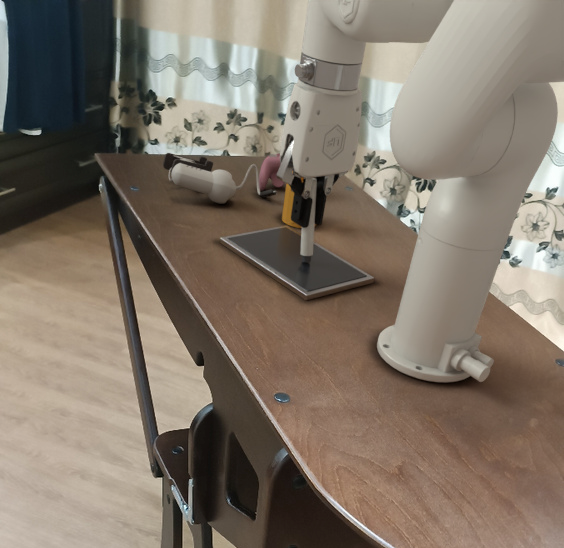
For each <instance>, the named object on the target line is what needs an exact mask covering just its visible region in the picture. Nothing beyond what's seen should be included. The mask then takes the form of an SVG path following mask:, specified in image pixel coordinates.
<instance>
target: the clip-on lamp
mask: <svg viewBox="0 0 564 548" xmlns="http://www.w3.org/2000/svg"><path fill="white" fill-rule="evenodd" d="M213 166H214V162H213V161H211V160H208V158H207V157H205V156H202V155H201V156H199V159H198V160H197V159H193V158H189V157H186V156H182V155H179V154H175V153H171V152H166V153H165V154H164V157H163V163H162V167H163V169H164V170H167V171H169V172H168V180H169V182H170V183H171V182H172V183H173V184H174V185H175V186H177V187H181V188H183V189H187V190H191V191H195V192H198V193H201V194H204V195H207V197H208V199H210V200H211V202H214V203H216V204H220V205H221V204H222V205H223V204H226V203H227V202H228V200H230V199H232V198H234V196H235V195H236V193H237V191H238V190H241V189H242V188H243V187H244V185H245V184H246V181H247V179H248V177H249V174H250V172H251V170H252V168H254V170H255V176H256V190H257V194H258V195H259V197H262V198H263V199H264V198H265V199H266V198H268V197H272V196H276V195H277V193H278V191H277V190H276V189H272V188H271V189H267V190H262V191H261V190H260V188H259V169H258V166H257V165H256V164H255V163H253V164H251V165H249V167H248V169H247V171H246V173H245V176H244V178H243V180H242V182H241V184H240V185H238V186H237V184H236V182H235V180H234V179H233V175H232V174H231V172H229V171H228V170H225V169H221V168H220V169H215V170H213ZM212 170H213V171H212Z"/></svg>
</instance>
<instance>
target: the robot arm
mask: <svg viewBox="0 0 564 548" xmlns="http://www.w3.org/2000/svg"><path fill="white" fill-rule="evenodd" d="M305 15H306V16H305V24H304V30H303V38H302V46H301V53H300V62H299V63H297V64H296V65H295V67H294V75H295V76H296V77H297V82H296V83H294V85H293V88H292V91H291V94H290V98H289V100H288V101H289V102H288V106H287V109H286V112H285V113H286V114H285V119H284V124H283V128H282V135H281V141H280V150H279V153H280V163H281V165H280V167H279V170H278V172H277V178H278V179H279V180H281V181H283V182H285V183H284V184H286V183H287V184H289V186H290V187H291V191H292V192H294V198H293V205H292V212H291V220H292V221H293V222H295V223H296V224H298V225H300V226H301V227H303V228H306V227H308V225H309V220H310V214H311V208H312V202H313V201H312V198H310V197H309V196H310V193H311V186H312V180H313V178H315V179H317V187H316V206H315V224H316V226H320V225H322V224H323V219H324V214H325V208H326V203H327V198H328V197H327V196H330V194H331V193H332V190H333V186H334V185H335V183H336V182H337V181H338V180H339V179H340V178H341V177H343V176H345V175H347V173H349V171H350V170H352V169H353V168H354V166H355V162H356V158H357V150H358V146H359V145H358V144H359V139H360V132H361V131H360V130H361V123H362V122H361V121H362V108H363V107H362V106H363V105H362V103H363V102H362V101H363V98H362V96H363V95H362V90H361V88H359V84H360V78H361V74H362V68H363V61H364V56H365V51H366V46H367V44H368V43H369V44H389V43H405V44H425V43H427V44H426V46H425V47H424V49H423V51H422V52H421V54H420V56H419V58H417V60H416V62H415V64H414V66H413V67H412V69H411V71H410V72H409V73H408V75H407V77H406V79H405V81H404V83H403V84H402V86H401V88H400V90H399V93H398V95H397V96H396V97H397V98H396V100H395V103H394V105H393V109H392V112H391V117H390V124H389V142H390V148H391V152H392V155H393V157H394V159H395V161H396V163H397V164H398V165H399V166H400V167H401V169H402V170H403V171H405V173H407V174H409V175H410V176H412V177H415V178H418V179H420V180H429V181H430V180H431V181H436V183H435V185H434V187H433V189H432V190H431V192H430V196H429V198H428V199H427V203H426V205H425V209H424V212H423V216H422V219H421V223H420V226H419V231H418V233H417V237H416V241H415V242H416V243H415V246H414V249H413V254H412V257H411V261H410V265H409V267H408V268H409V269H408V272H407V276H406V280H405V284H404V288H403V292H402V295H401V300H400V303H399V307H398V310H397V316H396V319H395V323H394V324H392V325H390V326H387V327H386V328H384V329H383V330H382V331H380V333H379V335H378V338H377V343H376V348H377V349H376V350H377V352H378V354H379V356H380V357H381V359H382V360H383V361H385V363H386V364H387V365H389V366H390V367H391V368H393V369H395V370H397V371H398V372H400V373H402V374H404V375H406V376H409V377H412V378H414V379H418V380H422V381H427V382H433V383H455V382H459V381H463V380H466V379H467V378H469V377H472V378H473V379H475V380H476V381H478V382H479V383H483V382H484V381H485V380H486V379H488V377H489V375H490V373H491V368H492V366H493V365H494V363H495V360H494V358H492V357H491V356H489V355H487V354H484V353H483V352H481V351H480V348H479V347H480V344H481V341H482V338H483V336H482V335H480V334H479V333H477V332H476V331H477V328H478V326H479V322H480V319H481V316H482V313H483V311H484V308H485V305H486V302H487V300H488V296H489V293H490V290H491V288H492V284H493V282H494V279H495V276H496V274H497V270H498V268H499V264H500V262H501V258H502V255H503V253H504V250H505V247H506V245H507V243H508V240H509V237H510V234H511V231H512V229H513V225H514V223H515V220H516V217H517V216H518V215H517V214H518V212H519V211H520V210H519V209H520V208H521V205H522V202H523V200H524V197H525V196H526V194H527V191H528V189H529V187H530V185H531V183H532V181H533V179H534V178H535V176H536V174H537V172H538V170H539V168H540V167H541V165H542V163H543V161H544V159H545V157H546V155H547V153H548V151H549V148H550V146H551V145H552V142H553V139H554V135H555V132H556V129H557V125H558V113H559V109H558V102H557V101H558V100H557V97H556V94H555V91H554V89H553V86H552V85H551V83H564V0H307V7H306V14H305ZM292 171H293V174H292ZM301 177H303V182H302V181H301Z"/></svg>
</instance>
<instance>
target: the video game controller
mask: <svg viewBox="0 0 564 548" xmlns="http://www.w3.org/2000/svg"><path fill="white" fill-rule="evenodd" d="M280 165H281V163H280V152H278V153H270V154H269V155H268V156H266V158H264V160H263V161H262V164H261V166H260V170H259V173H258V175H259V188H260V192H263V191H265V189H266V187H267V184H268V183H269V180H271V183H272V186H273V187H274V188H275V189H276V188H277V189H281V188H283V187H284V185H285V184H286V183H285V182H283V181H281V180H279V179H278V178H277V172H278V170H279V167H280Z"/></svg>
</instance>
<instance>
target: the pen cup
mask: <svg viewBox="0 0 564 548" xmlns="http://www.w3.org/2000/svg"><path fill="white" fill-rule="evenodd" d="M292 174H293V171H292ZM301 181H302V182H303V177H301ZM293 198H294V192H292V191H291V187H290V186H289V184H287V183H285V189H284V198H283V203H282V205H283V206H282V211H281V212H282V213H281V221H282V222H283V223H284V224H285V225H287V226H289V227H291V228H292V227H293V228H297V229H302V227H301V226H300V225H298V224H296V223H295V222H293V221H292V220H291V212H292V205H293ZM316 226H317V225H316V224H315V225H314V228H315V227H316Z"/></svg>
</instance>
